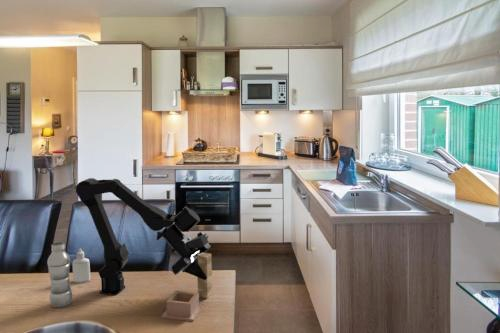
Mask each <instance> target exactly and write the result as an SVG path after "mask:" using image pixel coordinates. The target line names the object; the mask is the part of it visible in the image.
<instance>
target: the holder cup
mask: <svg viewBox="0 0 500 333" xmlns="http://www.w3.org/2000/svg"><path fill="white" fill-rule="evenodd" d="M204 306H205V303H201V302H200V297H199V293H198V292H191V291H180V290H175V292H174V293H173V294H172V295H171V296H170V297H169V298H168V299H167V300H166V310H165V311H164V312H163V313H162V314H161V316H160V318H162V319H171V320H179V321H187V322H188V321H189V322H194V321H195V320H196V318H197V316H198V315H199V314H200V312H201V311H202V309H203V308H204Z"/></svg>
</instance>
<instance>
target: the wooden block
mask: <svg viewBox="0 0 500 333" xmlns="http://www.w3.org/2000/svg"><path fill="white" fill-rule="evenodd" d="M212 255H213V254H212V253H208V252H207V253H205V252H204V253H201V254H199V255H198V256H197V259H198V265H199V267H200V268H201V269H202V271H203V272H204V274H205V275H206V277H207V279H206V280H203V279H201V278H199V277H197V293H199V298H204V299H209V298H210V297H211V296H212V294H213V279H212V277H213V276H212V275H213V272H212V271H213V270H212V269H213V268H212V259H213V258H212Z"/></svg>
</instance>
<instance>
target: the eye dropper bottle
mask: <svg viewBox="0 0 500 333" xmlns="http://www.w3.org/2000/svg"><path fill="white" fill-rule="evenodd" d="M90 280H91V266H90V259H89V258H86V257H85V252H84V251H83V250H82V248H79V249H78V252H76V258H75V259H74V260H73V261H72V282H73V283H76V284H77V283H78V284H79V283H80V284H81V283H82V284H83V283H87V282H89V281H90Z"/></svg>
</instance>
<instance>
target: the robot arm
mask: <svg viewBox="0 0 500 333" xmlns="http://www.w3.org/2000/svg"><path fill="white" fill-rule="evenodd" d="M75 193H76V195H77V196H78V198H79V200H80V202H81V203H82V204H84V205H85V206H86V207H87V209H88V211H89V213H90V216H91V218H92V220H93V223H94V226H95V228H96V231H97V234H98V236H99V239H100V241H101V243H102V247H103V260H104V266H103V267H102V268H101V269H100V270H99V271H98V274H99V278H100V280H101V281H100V282H101V289H100V290H99V292H98V293H99V294H102V295H103V294H104V295H114V296H117V295H118V294H119V293H120V292H122V291H123V290H124V289H125V288H126V285H125V277H124V276H123V271H121V270H122V269H123V268H124V267H125V265H126V264H127V263H128V260H129V255H130V253H129V251H128V250H127V245H126V243H123V244H121V243H120V242H119V241H118V240H117V237H116V234H115V232H114V230H113V227H112V224H111V222H110V220H109V217H108V214H107V211H106V209H105V207H104V204H103V194H109V193H111V194H113V195H114V196H115V197H117V199H119V200H120V201H122V203H124V204H125V205H127V206H128V207H129V208H131V210H133V211H134V212H136V213H137V214H138V215H139V216H140V217H141V219H142V221H143V222H144V223H145V224H146V225H147V227H148V228H149V229H150V230H151V231H154V232H156V235H157V236H156V241H160V240H162V239H164V240H165V241H166V242H167V243H168V245H169V246H170V247H171V252H172V254H174V253H176V254H177V256H178V257H179V259H178V260H177V261H176V262H175V263H173V265H172V266H171V272H172V273H173V274H174V276H177V275H178V274H179V273H180V272H181V270H182V269H183V270H182V273H186V274H189V275H191V276H192V275H193V276H194V277H197V278H198V277H199V278H201V279H203V280H206V279H207V277H206V275H205V274H204V272H203V271H202V269H201V268H200V267H199V265H198V259H197V256H198V255H199V254H201V253H208V250H209V249H210V248H211V244H209V240H208V238H209V235H208V234H207V233H206V232H205V231H200V232H198V233H197V234H196V235H197V236H196V237H194V238H192V237H191V236H186V235H185V234H184V233H186V232H187V233H188V232H190V231H191V230H192V229H193V228H194V227H195V226H196V225H197V224H198V223H199V222H200V221H201V219H200V216H199V215H198V214H197V213H196V212H195V210H192V209H190V208H189V207H188V206H187V205H185V206H184V207H183V208H182V210H181V211H180V212H179V213H177V214H172V213H168V212H166V211H164V210H163V209H161V208H159V207H157V206H155V205H152V204H150V203H148V202H147V201H145V200H144V199H143V198H141V196H139V195H138V194H136V193H135V192H134V191H132V189H131V188H129V187H127V185H125V184H124V183H122V182H121V180H120V179H118V178H113V179H99V180H98V179H96V178H94V177H90V178H87V179H84V180H81V181H79V182H78V183H77V184H76V187H75Z"/></svg>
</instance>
